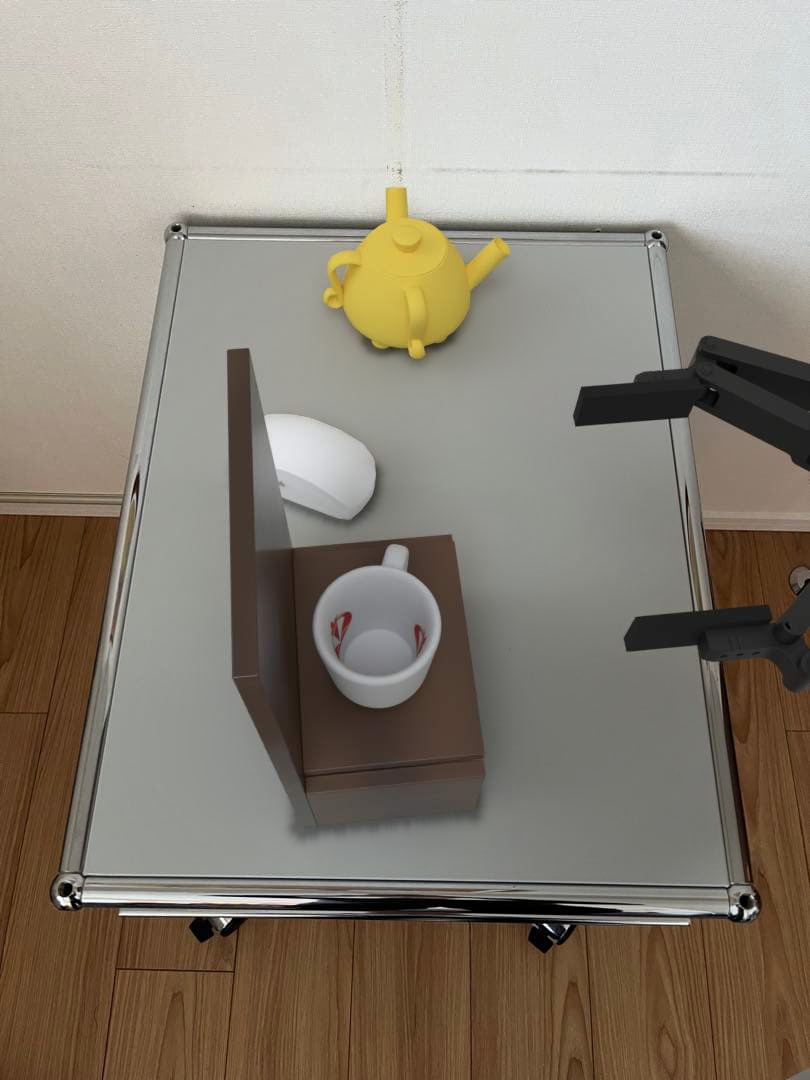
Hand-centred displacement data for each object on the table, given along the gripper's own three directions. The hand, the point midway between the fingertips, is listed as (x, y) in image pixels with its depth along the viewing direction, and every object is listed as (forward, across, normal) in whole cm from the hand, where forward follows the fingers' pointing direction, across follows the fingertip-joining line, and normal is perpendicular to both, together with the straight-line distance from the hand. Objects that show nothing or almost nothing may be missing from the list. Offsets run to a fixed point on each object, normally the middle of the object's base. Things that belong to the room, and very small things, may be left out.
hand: (601, 513), depth 49 cm
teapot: (+5, +42, -31) cm, 52 cm away
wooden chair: (+12, +1, -31) cm, 33 cm away
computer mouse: (+16, +23, -31) cm, 42 cm away
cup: (+12, +1, -19) cm, 22 cm away
